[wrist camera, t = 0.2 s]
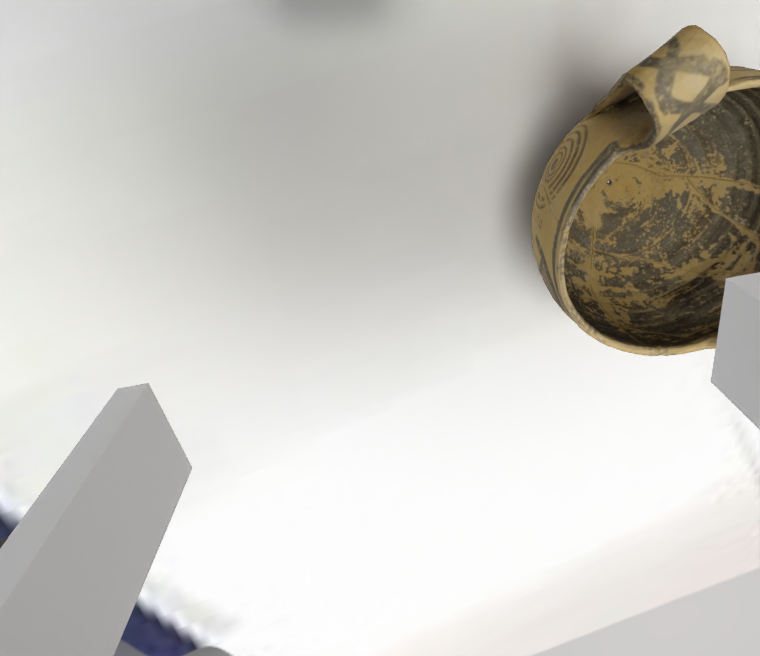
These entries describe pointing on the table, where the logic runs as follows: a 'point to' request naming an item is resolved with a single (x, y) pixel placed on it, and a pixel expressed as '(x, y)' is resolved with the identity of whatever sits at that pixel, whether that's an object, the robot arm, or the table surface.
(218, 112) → the table surface
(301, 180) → the table surface
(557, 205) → the ceramic bowl
